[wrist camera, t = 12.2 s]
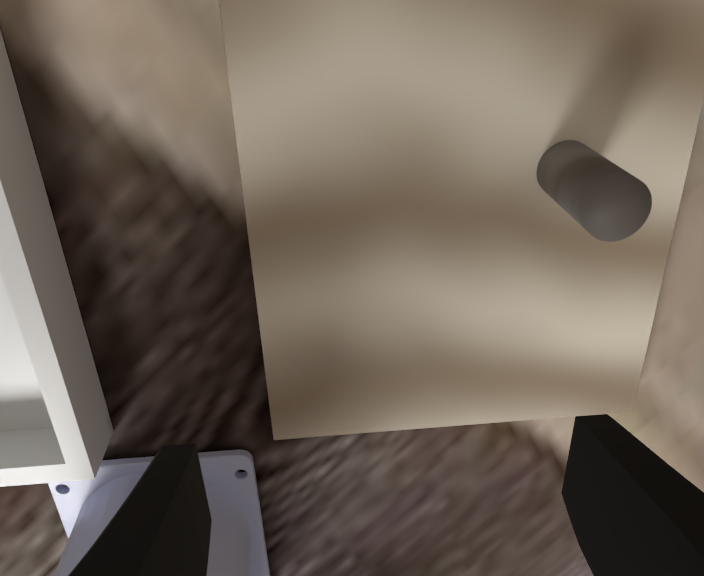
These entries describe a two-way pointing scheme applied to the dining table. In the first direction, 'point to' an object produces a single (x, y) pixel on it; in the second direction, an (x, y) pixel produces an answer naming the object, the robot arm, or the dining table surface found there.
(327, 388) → the board
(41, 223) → the tray
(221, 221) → the dining table surface
